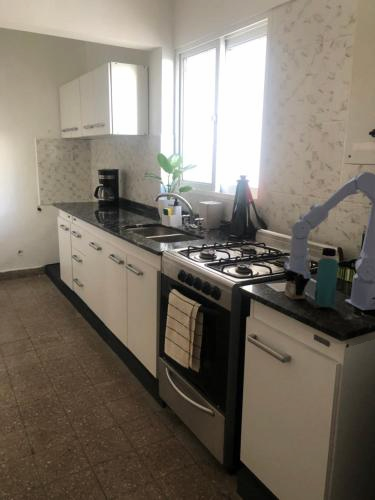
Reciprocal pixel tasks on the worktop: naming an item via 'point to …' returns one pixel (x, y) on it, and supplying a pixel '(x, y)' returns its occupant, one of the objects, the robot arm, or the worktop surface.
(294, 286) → the letter cube
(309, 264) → the supplement bottle
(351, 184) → the robot arm
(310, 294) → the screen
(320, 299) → the beverage bottle
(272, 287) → the tile
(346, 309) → the worktop surface
